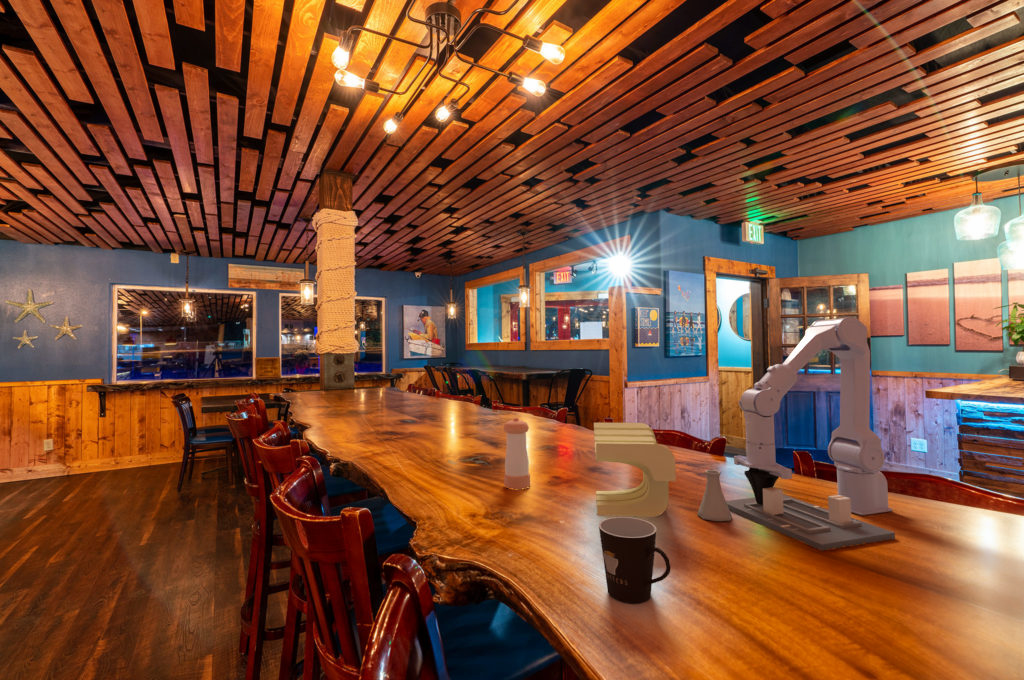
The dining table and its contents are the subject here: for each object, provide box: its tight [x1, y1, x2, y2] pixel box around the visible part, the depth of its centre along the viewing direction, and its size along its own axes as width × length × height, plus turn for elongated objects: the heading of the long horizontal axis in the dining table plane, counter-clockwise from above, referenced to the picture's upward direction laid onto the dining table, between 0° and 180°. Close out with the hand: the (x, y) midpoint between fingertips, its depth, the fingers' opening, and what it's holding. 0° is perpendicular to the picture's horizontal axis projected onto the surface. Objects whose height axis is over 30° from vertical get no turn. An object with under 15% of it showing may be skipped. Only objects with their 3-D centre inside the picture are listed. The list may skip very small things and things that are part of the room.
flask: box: [697, 469, 733, 522], centre depth 102 cm, size 7×7×10 cm
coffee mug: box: [598, 516, 672, 605], centre depth 69 cm, size 12×9×10 cm
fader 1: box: [763, 486, 784, 515], centre depth 100 cm, size 3×2×5 cm
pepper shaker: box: [503, 417, 531, 489], centre depth 129 cm, size 7×7×19 cm
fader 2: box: [827, 494, 852, 524], centre depth 94 cm, size 3×2×5 cm
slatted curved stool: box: [593, 422, 677, 518], centre depth 110 cm, size 30×16×18 cm, turn 171°
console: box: [726, 494, 896, 552], centre depth 99 cm, size 18×26×2 cm
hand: (762, 503), depth 103 cm, fingers closed
